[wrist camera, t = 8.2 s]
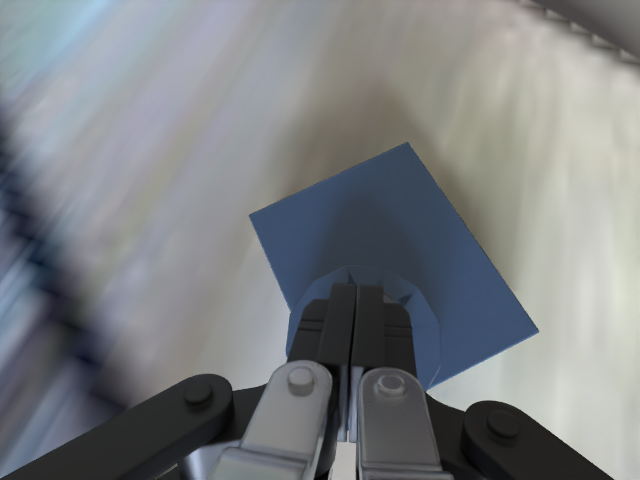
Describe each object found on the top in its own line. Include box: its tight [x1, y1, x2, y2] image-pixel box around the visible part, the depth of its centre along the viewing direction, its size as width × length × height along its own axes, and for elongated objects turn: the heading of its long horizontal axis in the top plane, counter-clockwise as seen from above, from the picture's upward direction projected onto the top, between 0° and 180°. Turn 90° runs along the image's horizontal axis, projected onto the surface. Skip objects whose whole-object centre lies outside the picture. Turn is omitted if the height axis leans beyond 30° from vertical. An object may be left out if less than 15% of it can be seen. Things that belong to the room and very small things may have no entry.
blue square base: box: [249, 142, 539, 431], centre depth 21 cm, size 12×11×7 cm
